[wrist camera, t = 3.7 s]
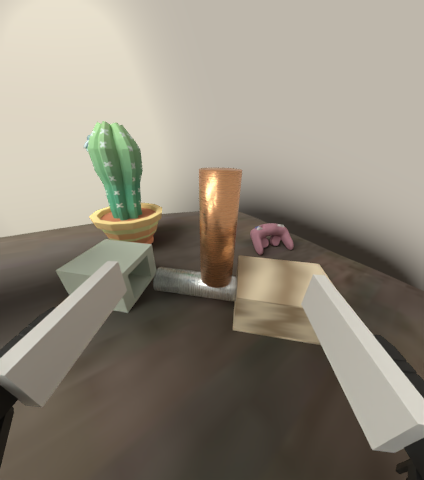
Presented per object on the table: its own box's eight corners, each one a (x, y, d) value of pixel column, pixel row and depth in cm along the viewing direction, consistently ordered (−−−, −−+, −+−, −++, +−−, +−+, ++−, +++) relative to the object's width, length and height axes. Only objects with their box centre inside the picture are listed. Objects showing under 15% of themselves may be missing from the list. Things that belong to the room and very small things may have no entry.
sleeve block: (232, 330, 22) (236, 297, 19) (235, 283, 29) (238, 255, 26) (331, 347, 20) (353, 314, 17) (307, 293, 28) (319, 264, 25)
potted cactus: (159, 225, 51) (145, 129, 39) (174, 248, 39) (160, 121, 28) (101, 235, 45) (64, 123, 33) (98, 266, 33) (38, 108, 21)
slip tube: (153, 297, 25) (127, 168, 16) (166, 277, 28) (149, 165, 20) (310, 321, 22) (378, 177, 13) (300, 296, 25) (348, 172, 17)
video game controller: (282, 248, 43) (280, 222, 43) (296, 249, 39) (293, 220, 39) (249, 254, 41) (246, 226, 40) (259, 256, 36) (256, 224, 36)
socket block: (73, 303, 25) (55, 270, 22) (114, 267, 33) (105, 239, 30) (128, 312, 24) (116, 279, 21) (156, 272, 31) (151, 244, 28)
